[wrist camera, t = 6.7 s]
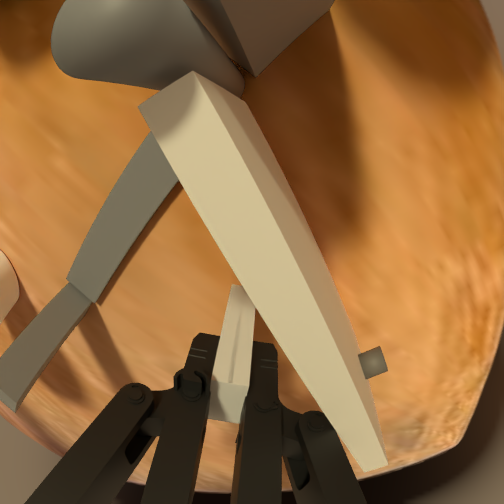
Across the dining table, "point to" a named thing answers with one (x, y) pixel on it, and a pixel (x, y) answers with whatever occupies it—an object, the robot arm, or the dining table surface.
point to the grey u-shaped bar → (149, 153)
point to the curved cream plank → (270, 250)
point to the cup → (7, 286)
